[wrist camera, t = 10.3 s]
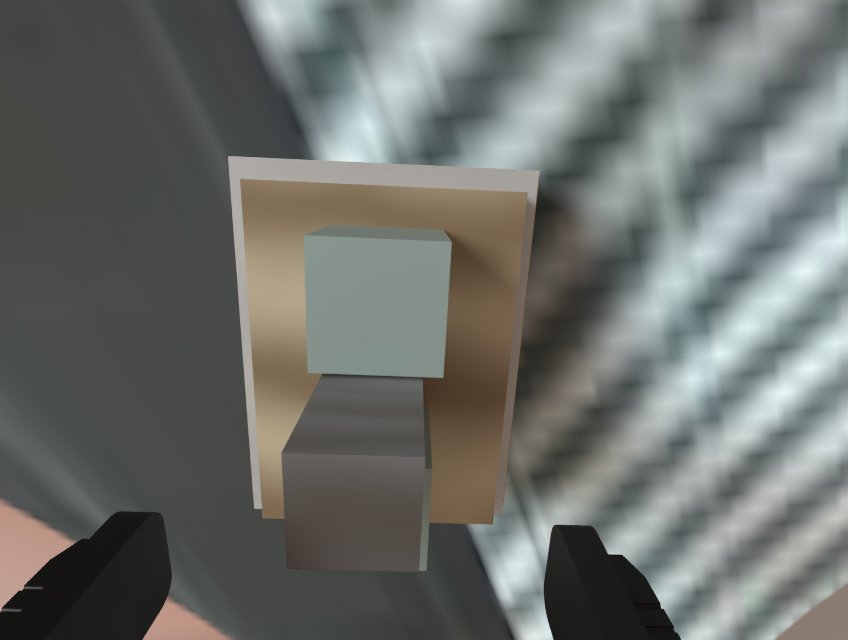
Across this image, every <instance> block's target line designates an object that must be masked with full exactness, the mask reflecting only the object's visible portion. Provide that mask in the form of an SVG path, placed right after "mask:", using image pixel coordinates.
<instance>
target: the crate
mask: <svg viewBox="0 0 848 640" xmlns="http://www.w3.org/2000/svg"><path fill="white" fill-rule="evenodd" d="M451 246H452V241H451V240H450V239H449V237H448V236H447V234H446V233H445V231H444V230H439V229H416V228H394V227H372V226H350V225H329V226H326V227H324V228H321V229H319V230H316V231H313V232H311V233H308V234H306V235H304V267H305V301H306V334H307V368H308V373H321V374H349V375H377V376H405V377H433V378H443V375H444V359H445V343H446V327H447V311H448V295H449V279H450V262H451Z"/></svg>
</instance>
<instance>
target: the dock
mask: <svg viewBox="0 0 848 640" xmlns="http://www.w3.org/2000/svg"><path fill="white" fill-rule="evenodd" d="M228 161H229V175H230V188H231V202H232V215H233V229H234V242H235V255H236V269H237V282H238V296H239V309H240V322H241V336H242V349H243V363H244V376H245V390H246V403H247V416H248V430H249V443H250V457H251V470H252V483H253V497H254V509H262V501H261V486H260V471H259V456H258V441H257V426H256V411H255V396H254V381H253V366H252V351H251V336H250V321H249V306H248V291H247V276H246V261H245V246H244V231H243V216H242V201H241V186H240V179H255V180H276V181H297V182H318V183H339V184H361V185H382V186H403V187H424V188H445V189H467V190H488V191H509V192H528V195H527V204H526V214H525V223H524V233H523V242H522V252H521V261H520V270H519V280H518V289H517V299H516V308H515V318H514V327H513V337H512V346H511V356H510V365H509V375H508V384H507V394H506V403H505V413H504V422H503V431H502V441H501V450H500V460H499V469H498V479H497V488H496V498H495V507H494V515H502V508H503V502H504V493H505V484H506V475H507V466H508V457H509V447H510V438H511V429H512V420H513V411H514V402H515V393H516V384H517V374H518V365H519V356H520V347H521V338H522V329H523V320H524V311H525V301H526V292H527V283H528V274H529V265H530V256H531V247H532V238H533V228H534V219H535V210H536V201H537V192H538V183H539V174H540V172H539V171H534V170H513V169H491V168H470V167H448V166H427V165H405V164H384V163H362V162H341V161H319V160H298V159H276V158H255V157H233V156H228Z"/></svg>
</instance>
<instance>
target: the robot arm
mask: <svg viewBox="0 0 848 640" xmlns="http://www.w3.org/2000/svg"><path fill="white" fill-rule="evenodd" d="M171 578H172V572H171V564H170V558H169V551H168V545H167V539H166V532H165V526H164V520H163V517H162V515H161V514H160V513H157V512H125V511H121V512H117V513H115V514H113V515H112V516H111V517H110V518H109V519H108V520H107V521H106V522H105V523H104V524H103V525H102V526H101V527H100V528H99V529H98V530H97V531H96V532H95V533H94V534H93V536H92V537H91V538H90V539H81V540H80V541H78V542H77V543H75V544H74V545H72V546H70V547H69V548H67V549H66V550H64V551H63V552H61V553H60V554H58V555H57V556H55V557H54V558H52V559H51V560H49V561H48V562H47V563H46V565H44V566H43V567H42V568H41V569H40V570H39V571H38V572H37V573H36V574H35V575H34V576H33V577H32V578H31V579H30V580H29V581H28V582H27V583H26V584H25V585H24V589H23V590H22V591H18V592H17V593H16V594H15V595H14V596H13V597H12V598H11V599H10V600H9V601H8V602H7V603H6V604H5V605H4V606H3V607H2V611H1V612H0V640H142V639H143V638H144V636H145V635H146V633H147V631H148V630H149V628H150V626H151V625H152V623H153V622H154V620H155V618H156V617H157V615H158V614H159V612H160V610H161V609H162V607H163V605H164V603H165V601H166V598H167V596H168V593H169V589H170V585H171ZM544 601H545V609H546V614H547V618H548V622H549V626H550V629H551V632H552V636H553V639H554V640H681V638H680V637H679V635H678V633H676V632H675V631H674V626H673V625H672V623H671V621H670V619H669V618H668V616H667V614H666V612H665V611H664V609H661V606H660V602H659V600H658V598H657V597H656V595H655V593H654V591H653V590H652V588H651V586H650V585H649V583H648V581H647V579H646V578H645V576H644V575H643V574H641V573H640V572H639V571H638V570H637V569H636V568H635V567H634V566H633V565H632V564H631V563H630V562H629V561H628V560H627V559H626V558H625V557H624V556H623V555H609V554H608V553H607V551H606V549H605V547H604V545H603V543H602V541H601V540H600V538H599V536H598V534H597V532H596V530H595V529H594V528H593V527H592V526H582V525H554V526H553V528H552V532H551V538H550V545H549V552H548V559H547V566H546V573H545V581H544Z"/></svg>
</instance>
